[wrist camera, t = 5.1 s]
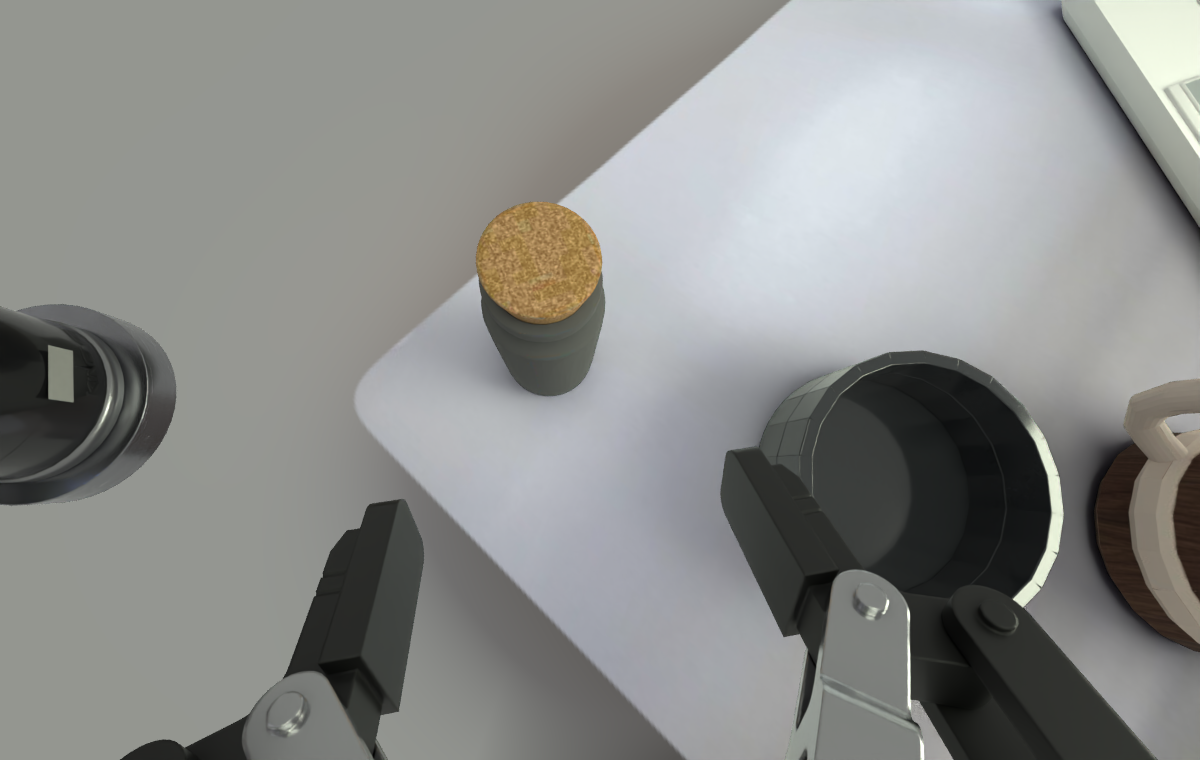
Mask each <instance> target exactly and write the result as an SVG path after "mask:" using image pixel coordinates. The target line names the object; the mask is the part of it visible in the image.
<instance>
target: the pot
mask: <svg viewBox="0 0 1200 760" xmlns="http://www.w3.org/2000/svg"><path fill="white" fill-rule="evenodd" d="M759 448H760V449H761V450H762V452H763V453H764V455H765V456H766V458H767V459H768V461H769V462H770V464H771V465H776V464H782V465H784V466H785V467H786V468H788V469H789V470H790V471H792V472H793V473H794V474H796V475H797V476H798V477H800V479H801V480H802V482H803V483H804V484H805V486H806V487H807V489H808V490H809V492H810V493H811V496H812V498H813V497H814V499H815V500H816V502H817V503H818V504H819V506H820V507H821V511H822V512H824V513H825V514H826V516H827V517H828V519H829V520H830V522H831V523H832V524H833V526H834V527H835V529H836V530H837V531H838V533H839V534H840V536H841V537H842V539H843V540H844V541H845V543H846V544H847V546H848V547H849V549H850V550H851V551H852V553H853V554H854V556H855V557H856V559H857V560H858V561H859V563H860V564H861V565H862V567H863V568H864V569H865V570H866V571H868V572H871V573H874V574H876V575H878V576H880V577H882V578H884V579H885V580H887V581H888V582H890V583H891V584H892V585H893V586H894V587H895V588H896V589H897V590H899V591H902V592H906V593H912V594H919V595H926V596H934V597H941V598H948V599H950V598H951V597H952V595H953V594H954V592H955V591H956V590H957V589H958V588H960V587H962V586H966V585H980V586H985V587H989V588H991V589H994V590H997V591H999V592H1001V593H1003V594H1005V595H1007V596H1008V597H1010V598H1011V599H1013V600H1014V601H1016V602H1017V603H1018V604H1020V605H1021V606H1022V607H1023V608H1024V607H1025V606H1026V605H1027V604H1028V603H1029V602H1030V600H1031V599H1032V598H1033V597H1034V596H1035V595H1036V594H1037V593H1038V592H1039V591H1040V590H1041V588H1042V587H1043V585H1044V583H1045V581H1046V579H1047V577H1048V574H1049V572H1050V570H1051V568H1052V566H1053V564H1054V562H1055V560H1056V557H1057V554H1058V553H1059V546H1060V539H1061V532H1062V526H1063V519H1064V516H1063V515H1064V510H1063V502H1062V493H1061V485H1060V476H1059V473H1058V470H1057V468H1056V465H1055V462H1054V460H1053V457H1052V455H1051V452H1050V449H1049V447H1048V444H1047V441H1046V439H1045V438H1044V435H1043V434H1042V432H1041V431H1040V429H1039V428H1038V426H1037V425H1036V423H1035V422H1034V420H1033V419H1032V417H1031V416H1030V414H1029V413H1028V412H1027V410H1026V409H1025V407H1024V406H1023V404H1021V403H1020V402H1019V401H1018V400H1017V399H1016V398H1015V397H1014V396H1013V395H1012V394H1011V393H1010V392H1008V391H1007V390H1006V389H1005V388H1004V387H1003V386H1002V385H1001V384H1000V383H999V382H998V381H996V380H995V379H994V378H993V377H992V376H990V375H988V374H986V373H984V372H983V371H981V370H979V369H977V368H975V367H973V366H972V365H970V364H968V363H966V362H964V361H962V360H960V359H956V358H952V357H948V356H944V355H940V354H935V353H931V352H927V351H903V352H889V353H885V354H882V355H880V356H877V357H874V358H871V359H869V360H866V361H863V362H860V363H858V364H855V365H852V366H849V367H846V368H844V369H841V370H838V371H835V372H833V373H830V374H828V375H825V376H822V377H820V378H817V379H814V380H812V381H809V382H808V383H806V384H805V385H803V386H802V387H800V388H799V389H797V390H796V391H794V392H793V393H792V394H791V395H790V396H789V397H788V398H786V399H785V400H784V401H783V403H782V404H781V405H780V406H779V407H778V409H777V410H776V411H775V413H774V414H773V416H772V418H771V419H770V421H769V422H768V424H767V427H766V429H765V431H764V433H763V436H762V439H761V442H760V446H759Z"/></svg>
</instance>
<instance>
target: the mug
mask: <svg viewBox="0 0 1200 760" xmlns="http://www.w3.org/2000/svg"><path fill="white" fill-rule="evenodd" d="M1187 413H1200V379H1191V380H1182V381H1173V382H1169V383H1166V384H1163V385H1160V386H1158V387H1155V388H1152V389H1149V390H1147V391H1144V392H1141V393H1138V394H1135V395H1134V396H1132V397H1131V399H1130V401H1129V405H1128V409H1127V413H1126V416H1125V420H1124V424H1123V425H1124V427H1125V429H1126V431H1127V432H1128V434H1129V435H1130V437H1131V438H1132V440H1133V441H1134V444H1132V445H1131V446H1129V447H1128V448H1127V449H1125V450H1124V451H1122V452H1121V453H1120V454H1118V455H1117V457H1116V459H1115V460H1114V462H1113V463H1112V465H1111V467H1110V468H1109V470H1108V471H1107V473H1106V475H1105V476H1104V478H1103V479H1102V481H1101V483H1100V485H1099V490H1098V494H1097V499H1096V504H1095V508H1094V519H1095V530H1096V541H1097V545H1098V547H1099V550H1100V553H1101V556H1102V558H1103V561H1104V564H1105V566H1106V569H1107V572H1108V574H1109V576H1110V577H1111V578H1112V580H1113V581H1114V583H1115V584H1116V586H1117V587H1118V589H1119V590H1120V592H1121V593H1122V595H1123V596H1124V598H1125V599H1126V600H1127V602H1128V603H1129V605H1130V606H1131V607H1132V609H1133V610H1134V611H1135V612H1136V613H1137V614H1138V615H1139V616H1140V617H1141V618H1143V619H1144V620H1145V621H1146V622H1147V623H1148V624H1149V625H1151V626H1152V627H1153V628H1154V629H1155V630H1156V631H1157V632H1159V633H1160V634H1161V635H1162V636H1164V637H1166V638H1168V639H1170V640H1172V641H1175V642H1177V643H1179V644H1181V645H1183V646H1185V647H1187V648H1189V649H1192V650H1194V651H1198V652H1200V429H1198V430H1194V431H1190V432H1185V433H1172V432H1171V430H1170V429H1169V427H1168V426H1167V424H1166V423H1165V420H1166V419H1167V417H1171V416H1175V415H1179V414H1187Z"/></svg>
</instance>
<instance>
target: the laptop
mask: <svg viewBox="0 0 1200 760" xmlns="http://www.w3.org/2000/svg"><path fill="white" fill-rule="evenodd" d="M1061 3H1062V12H1063V19H1064V21H1065V22H1066V24H1067V25H1068V27H1069V28H1070V30H1071V31H1072V33H1073V34H1074V36H1075V37H1076V39H1077V41H1078V42H1079V44H1080V45H1081V47H1082V48H1083V50H1084V51H1085V53H1086V54H1087V56H1088V57H1089V59H1090V60H1091V62H1092V63H1093V65H1094V67H1095V68H1096V70H1097V71H1098V73H1099V74H1100V76H1101V77H1102V79H1103V80H1104V82H1105V83H1106V85H1107V86H1108V88H1109V89H1110V91H1111V93H1112V94H1113V96H1114V97H1115V99H1116V100H1117V102H1118V103H1119V105H1120V106H1121V108H1122V109H1123V111H1124V112H1125V114H1126V116H1127V117H1128V119H1129V120H1130V122H1131V123H1132V125H1133V126H1134V128H1135V129H1136V131H1137V132H1138V134H1139V135H1140V137H1141V138H1142V140H1143V142H1144V143H1145V145H1146V146H1147V148H1148V149H1149V151H1150V152H1151V154H1152V155H1153V157H1154V158H1155V160H1156V161H1157V163H1158V164H1159V166H1160V168H1161V169H1162V171H1163V172H1164V174H1165V175H1166V177H1167V178H1168V180H1169V181H1170V183H1171V184H1172V186H1173V187H1174V189H1175V191H1176V192H1177V194H1178V195H1179V197H1180V198H1181V200H1182V201H1183V203H1184V204H1185V206H1186V207H1187V209H1188V210H1189V212H1190V213H1191V215H1192V217H1193V218H1194V220H1195V221H1196V223H1197V224H1198V226H1199V227H1200V0H1061Z"/></svg>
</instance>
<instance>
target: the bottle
mask: <svg viewBox="0 0 1200 760" xmlns="http://www.w3.org/2000/svg"><path fill="white" fill-rule="evenodd" d="M476 266H477V273H478V277H479V287H480V292H481V296H482V299H481V306H482V313H483V318H484V321H485V324H486V326H487V328H488V331H489V333H490V335H491V337H492V339H493V341H494V343H495V345H496V347H497V349H498V351H499V352H500V354H501V356H502V358H503V360H504V362H505V364H506V366H507V367H508V369H509V371H510V373H511V375H512V376H513V377H514V379H515V380H516V381H517V382H518V383H519V384H520V385H521V386H522V387H523V388H525V389H526V390H528V391H530V392H532V393H535V394H538V395H543V396H555V395H561V394H564V393H566V392H568V391H570V390H572V389H574V388H575V387H576V386H578V385H579V384H580V383H581V381H582V380H583V379H584V378H585V376H586V374H587V373H588V371H589V368H590V365H591V363H592V359H593V356H594V352H595V349H596V345H597V341H598V338H599V334H600V330H601V327H602V322H603V317H604V312H605V295H604V290H603V286H602V284H603V278H602V271H601V269H602V255H601V249H600V245H599V242H598V240H597V238H596V235H595V234H594V232H593V230H592V229H591V227H590V226H589V225H588V224H587V222H586V221H585V220H584V219H582V218H581V217H580V216H579V215H577V214H576V213H575V212H573V211H571V210H570V209H568V208H565V207H563V206H560V205H557V204H553V203H548V202H529V203H524V204H519V205H516V206H513V207H511V208H509V209H507V210H505V211H503V212H502V213H500V214H499V215H498V216H496V218H495V219H493V220H492V221H491V222H490V224H488V226H487V227H486V229H485V230H484V232H483V234H482V236H481V238H480V240H479V243H478V246H477V254H476Z"/></svg>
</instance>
